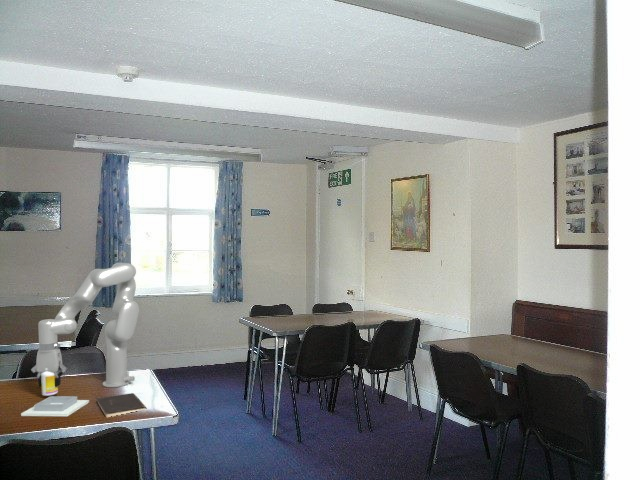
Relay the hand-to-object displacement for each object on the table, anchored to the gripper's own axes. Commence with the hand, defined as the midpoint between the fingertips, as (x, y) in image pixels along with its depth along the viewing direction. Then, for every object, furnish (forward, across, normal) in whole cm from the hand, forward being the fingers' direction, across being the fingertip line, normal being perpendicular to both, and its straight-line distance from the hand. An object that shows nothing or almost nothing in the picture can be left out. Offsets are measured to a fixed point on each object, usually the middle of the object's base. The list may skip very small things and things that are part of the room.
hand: (49, 385), depth 232 cm
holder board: (+5, -12, +17) cm, 21 cm away
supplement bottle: (+4, 0, 0) cm, 4 cm away
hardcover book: (+6, -38, +13) cm, 41 cm away
